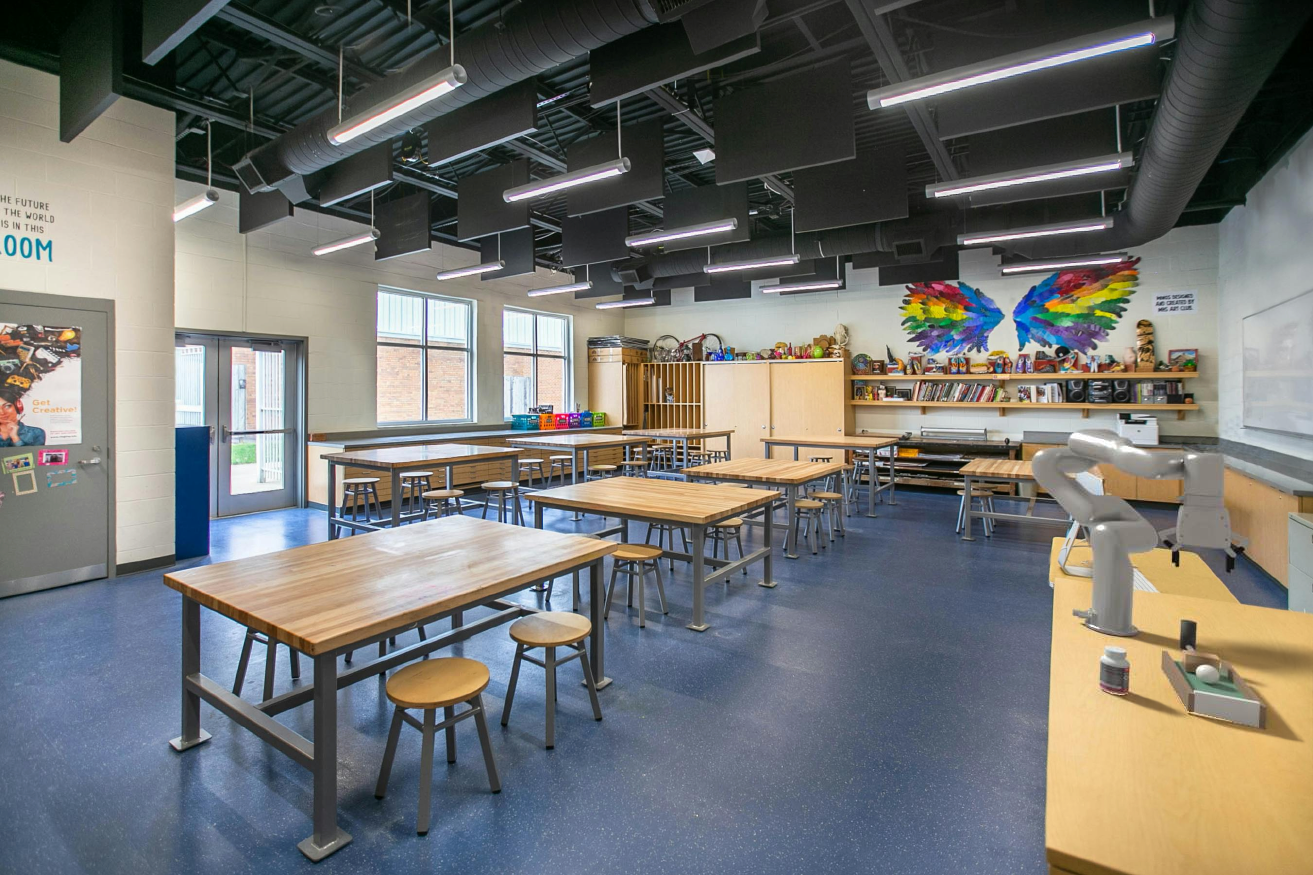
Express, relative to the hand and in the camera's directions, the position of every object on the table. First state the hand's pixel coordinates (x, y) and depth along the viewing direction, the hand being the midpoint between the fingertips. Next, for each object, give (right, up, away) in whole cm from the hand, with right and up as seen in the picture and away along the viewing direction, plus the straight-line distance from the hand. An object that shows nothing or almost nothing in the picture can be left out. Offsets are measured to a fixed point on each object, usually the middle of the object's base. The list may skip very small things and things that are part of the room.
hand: (1202, 568), depth 153 cm
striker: (-8, -21, -6) cm, 23 cm away
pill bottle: (-34, -25, -15) cm, 44 cm away
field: (-14, -25, -17) cm, 33 cm away
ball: (-14, -20, -17) cm, 30 cm away
